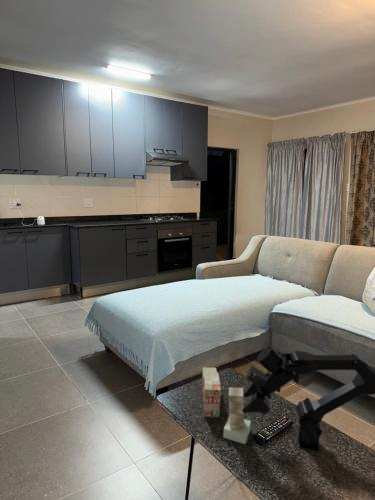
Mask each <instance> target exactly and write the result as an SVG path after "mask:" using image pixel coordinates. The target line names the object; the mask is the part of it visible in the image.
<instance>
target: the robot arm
mask: <svg viewBox="0 0 375 500" xmlns="http://www.w3.org/2000/svg"><path fill="white" fill-rule="evenodd" d="M256 360H257V362H258V363H259V364H260V365H261V366H262V367H264V368H265V370H266V372H264V371H262V370H260V369H258V368H257V367H255V366H253V365H251V366H250V367H249V369H248V371H247V372H246V380H247V381H249V382H250V383H251V384H250V385H249V387H248V388H247V389H246V390H245V392H243V398H244V397H245V398H249V397H250V396H251V398H250V399H251V400H250V402H248V404H247V405H245V406H244V408H243V410H242V412H243V413H244V414H250V413H261V414H263V415H264V416H265V415H267V414H268V413H270V401H269V400H270V399H272V395H273V394H274V393H276V392H277V393H281V391H282V390H281V389H282V388H283V387H284V386H286V385H287V384H289V383H291V381H293V382H294V383H296V384H297V385H298V384H299V380H300V376H302V375H303V376H304V375H310V374H312V373H315V372H316V371H355V372H356V375H355V377H354V378H353V379H352V381H349V382H348V383H346V384H344V385H342V386H341V387H339V388H337V389H335V390H333V391H331V392H329V393H328V394H326V395H324V396H322V397H320V398H319V399H317V400H310V398H309V397H306V398H305V399H304V400H301V401H298V403H297V405H296V406H295V409H294V412H295V413H294V414H295V415H296V418H297V422H298V425H299V426H298V427H297V441H298V446H299V447H300V448H304V449H308V450H311V451H313V450H314V451H317V452H319V450H320V447H319V443H320V442H319V441H320V437H321V434H323V429H322V427H321V425H320V423H321V422H322V420H323V418H324V417H325V416H326V415H327V414H329V413H330V412H332V411H335V410H336V409H338V408H340V407H342V406H344V405H345V404H348V403H349V402H351V401H353V400H355V399H357V398H358V397H360V396H363V395H365V396H366V395H367V396H369V395H372V396H373V395H375V367H374V366H370V365H369V364H368V363H366V362H365V361H364V360H363V359H362V358H360V357H359V355H358V354H354V353H351V354H348V355H347V354H342V355H341V354H337V355H336V354H327V355H325V354H323V355H319V354H317V355H316V354H312V353H310V352H307V351H299V350H294V351H292V352H290V353H280V354H279V353H278V352H277V351H276V349H275V348H274V347H273V346H270V348H268V347H267V348H264V349H263V350H261V351H260V352H259V353H258V355H257V357H256ZM266 397H267V398H266Z"/></svg>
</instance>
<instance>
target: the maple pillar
mask: <svg viewBox="0 0 375 500" xmlns="http://www.w3.org/2000/svg"><path fill="white" fill-rule="evenodd" d="M228 407H229V408H228V409H229V413H228V414H229V416H230V429H244V419H245V417H244V416H245V413H243V412H242V410H243V408H244V407H245V406H244V388H243V387H228Z"/></svg>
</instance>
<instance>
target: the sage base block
mask: <svg viewBox="0 0 375 500" xmlns="http://www.w3.org/2000/svg"><path fill="white" fill-rule="evenodd" d="M251 423H252V422H251V420H249V419H245V418H244V429H230V415H229V416H228V418H227V421H226V423H225V425H224V427H223V434H222V435H223V437H222V438H223V439H227V440H230V441H234V442H236V443H240V444H243V445H246V443H247V441H248V438H249V434H250V433H251V432H250V431H251V426H252V425H251Z"/></svg>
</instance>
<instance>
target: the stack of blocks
mask: <svg viewBox="0 0 375 500" xmlns="http://www.w3.org/2000/svg"><path fill="white" fill-rule="evenodd" d="M201 369H202V371H201V372H202V373H201V375H202V379H201V381H202V383H201V387H202V401H203V402H202V403H203V417H204V418H220V415H221V396H222V389H221V382H220V381H221V380H220V376H219V372H217V368H216V367H202V368H201Z"/></svg>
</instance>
